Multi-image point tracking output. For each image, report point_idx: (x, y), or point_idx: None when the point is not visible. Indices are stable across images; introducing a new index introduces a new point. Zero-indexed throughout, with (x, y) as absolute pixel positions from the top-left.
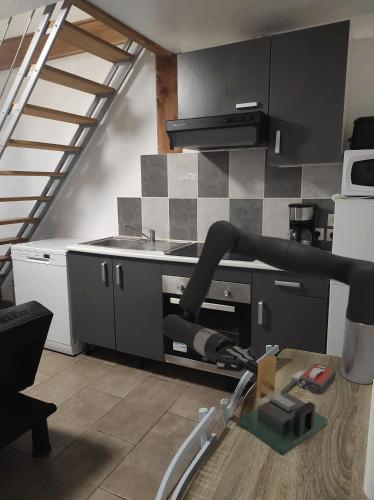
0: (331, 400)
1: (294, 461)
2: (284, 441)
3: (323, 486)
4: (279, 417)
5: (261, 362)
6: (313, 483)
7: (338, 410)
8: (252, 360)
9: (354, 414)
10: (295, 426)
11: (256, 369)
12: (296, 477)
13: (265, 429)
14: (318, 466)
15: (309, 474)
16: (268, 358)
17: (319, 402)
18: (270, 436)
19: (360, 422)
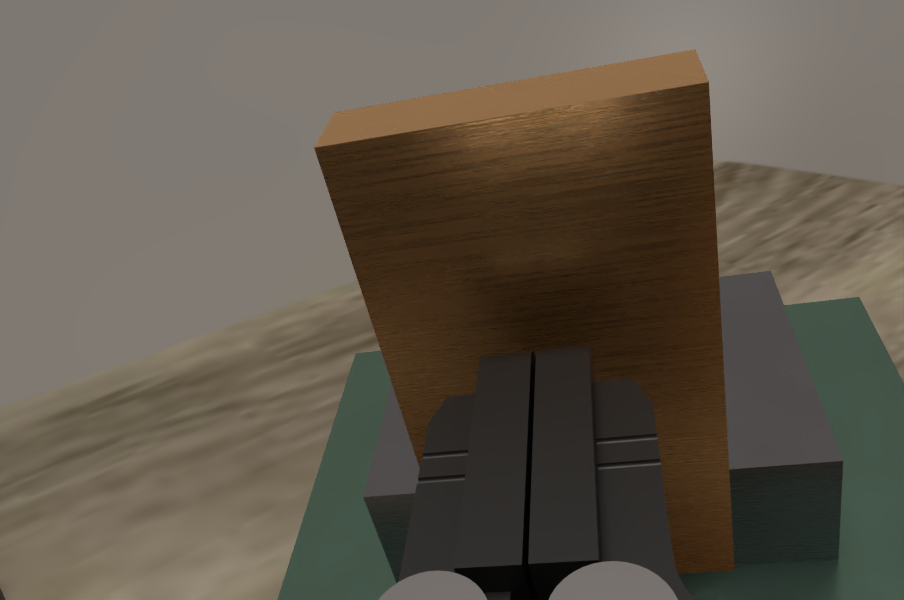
0: (58, 511)
1: (819, 294)
2: (800, 325)
3: (798, 195)
4: (749, 309)
5: (697, 55)
6: (831, 209)
7: (166, 433)
8: (457, 559)
9: (159, 380)
10: None
11: (632, 383)
12: (891, 241)
13: (858, 438)
14: (720, 249)
15: (807, 236)
16: (477, 103)
17: (130, 537)
18: (871, 379)
19: (221, 338)
